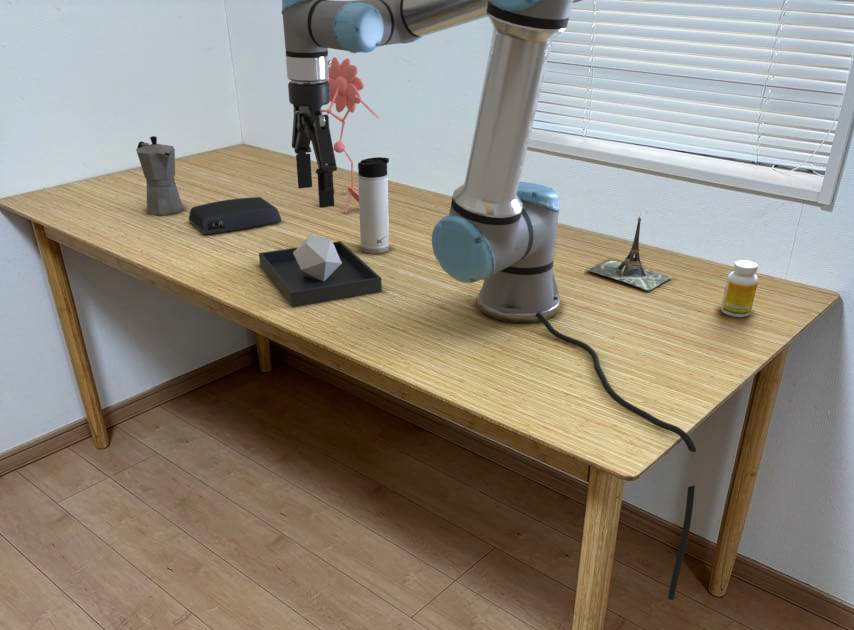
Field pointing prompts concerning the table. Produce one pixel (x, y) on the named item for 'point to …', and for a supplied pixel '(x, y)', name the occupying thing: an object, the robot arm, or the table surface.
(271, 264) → the black tray
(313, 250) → the die
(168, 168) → the coffeepot
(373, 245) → the travel mug
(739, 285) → the supplement bottle
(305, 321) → the table surface
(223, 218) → the hard drive
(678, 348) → the table surface
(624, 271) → the eiffel tower figurine
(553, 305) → the robot arm
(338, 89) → the figurine
